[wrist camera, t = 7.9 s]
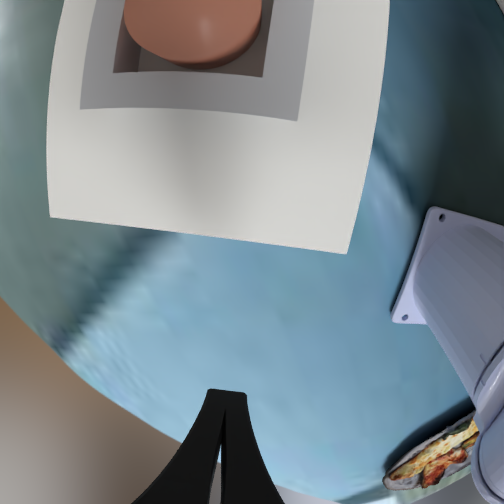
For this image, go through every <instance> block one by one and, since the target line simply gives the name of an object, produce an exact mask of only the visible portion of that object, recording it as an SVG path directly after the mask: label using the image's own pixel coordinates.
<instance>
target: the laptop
mask: <svg viewBox="0 0 504 504" xmlns="http://www.w3.org/2000/svg"><path fill="white" fill-rule="evenodd" d="M496 1H497V3H498V5H499V6H500V8H501V10H502V12H503V13H504V0H496Z"/></svg>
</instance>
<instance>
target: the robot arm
mask: <svg viewBox="0 0 504 504" xmlns="http://www.w3.org/2000/svg"><path fill="white" fill-rule="evenodd" d="M441 214H443V217H442V218H441V219H440V220H439V216H440V215H441ZM403 315H405V316H404V317H402V316H403ZM390 317H391V319H392V321H393V322H395V323H409V324H428V326H429V327H430V329H431V331H432V332H433V334H434V335H435V337H436V339H437V340H438V342H439V343H440V345H441V347H442V348H443V350H444V352H445V353H446V355H447V357H448V358H449V360H450V362H451V364H452V365H453V367H454V369H455V370H456V372H457V374H458V376H459V378H460V379H461V381H462V383H463V385H464V387H465V388H466V390H467V392H468V394H469V396H470V398H471V400H472V402H473V403H474V405H475V407H476V414H475V415H474V417H473V420H474V422H475V424H476V426H477V428H478V430H479V432H480V434H479V436H478V437H477V439H476V442H475V444H474V447H473V451H472V456H471V472H472V477H473V480H474V483H475V486H476V488H477V489H478V491H479V493H480V494H481V495H482V496H483V498H484V499H485V500H486V501H488V502H489V503H490V504H504V226H502V225H499V224H496V223H492V222H489V221H486V220H483V219H479V218H476V217H472V216H469V215H465V214H462V213H458V212H455V211H451V210H447V209H443V208H440V207H436V206H433V207H431V208H429V210H428V211H427V214H426V217H425V221H424V224H423V227H422V230H421V234H420V237H419V240H418V243H417V246H416V249H415V252H414V255H413V258H412V261H411V264H410V266H409V269H408V272H407V275H406V277H405V280H404V283H403V285H402V288H401V290H400V293H399V295H398V298H397V300H396V303H395V305H394V308H393V310H392V312H391V316H390ZM220 446H221V503H220V504H285V503H284V502H283V500H282V498H281V496H280V495H279V493H278V491H277V489H276V487H275V485H274V483H273V481H272V479H271V477H270V475H269V473H268V471H267V469H266V466H265V464H264V461H263V459H262V456H261V454H260V451H259V448H258V445H257V442H256V439H255V436H254V432H253V429H252V425H251V421H250V416H249V411H248V404H247V395H246V394H245V393H244V392H235V391H226V390H219V389H209V390H208V391H207V394H206V397H205V400H204V403H203V405H202V408H201V410H200V412H199V414H198V416H197V418H196V420H195V422H194V424H193V426H192V428H191V429H190V431H189V433H188V435H187V437H186V438H185V440H184V441H183V443H182V444H181V446H180V448H179V449H178V450H177V452H176V454H175V455H174V456H173V458H172V459H171V461H170V462H169V463H168V465H167V466H166V467H165V468H164V470H163V471H162V472H161V474H160V475H159V476H158V477H157V478H156V479H155V480H154V481H153V482H152V484H151V485H150V486H149V487H148V488H147V489H146V490H145V491H144V492H143V493H142V494H141V495H140V496H139V497H138V498H137V499H136V500H135V501H134V502H133V503H131V504H209V498H210V492H211V487H212V483H213V478H214V473H215V469H216V464H217V460H218V455H219V451H220Z"/></svg>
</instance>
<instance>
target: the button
mask: <svg viewBox="0 0 504 504" xmlns="http://www.w3.org/2000/svg"><path fill="white" fill-rule="evenodd" d="M124 20H125V24H126V27H127V30H128V32H129V34H130V35H131V37H132V38H133V39H134V40H135V41H136V42H137V43H138V44H139V45H140V46H141V47H143V48H144V49H146V50H148V51H150V52H152V53H154V54H156V55H158V56H160V57H162V58H163V59H165V60H167V61H169V62H171V63H173V64H175V65H177V66H180V67H183V68H188V69H195V70H204V69H212V68H216V67H220V66H222V65H225V64H228V63H230V62H232V61H234V60H235V59H237V58H238V57H240V56H241V55H242V54H244V53H245V52H246V51H247V50H248V49H249V48H250V47H251V45H252V44H253V43H254V41H255V39H256V38H257V36H258V33H259V31H260V27H261V20H262V0H125V4H124Z"/></svg>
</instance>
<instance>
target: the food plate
mask: <svg viewBox="0 0 504 504" xmlns="http://www.w3.org/2000/svg"><path fill="white" fill-rule="evenodd" d="M475 414H476V410H473V412H472V413H471V414H469V415H468V416H466V417H464V418H462V419H460V420H458V421H457V422H456V423H455V424H454V425H452V426H446V427H447V428H446V429H445V430H444V431H442V432H441V433H439V434H436V435H435V436H434V437H432V438H430V439H428V440H426V441H424V442H423V443H421V444H420V445H418V446H415V447H414V448H413V449H412V450H410V451H408V452H406V453H405V454H404V455H403V456H402V457H401V458H400V460H398V461H397V462H396V463H395V464H394V465H392V466H391V468H390V469H389V470H387V472H386V475H385V476H384V477H383V480H382V482H383V484H384V485H385V487H386V488H387V489H390V490H407V489H414V488H418V487H421V486H422V489H423V488H427V487H428V486H430V485H436V484H438V483H439V481H440V480H441V479H443V478H446V477H448V476H450V475H452V474H454V473H455V472H458V471H460V470H462V469H463V468H465V467H467V466H468V465H470V464H471V456H472V451H473V447H472V446H473V445H474V444H475V442H476V439H477V437H478V436H479V434H480V432H479V430H478V428H477V426H476V424H475V422H474V420H473V417H474V415H475ZM469 447H472V448H469ZM467 449H468V450H467ZM469 449H471V450H469ZM466 450H467V451H466Z"/></svg>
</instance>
